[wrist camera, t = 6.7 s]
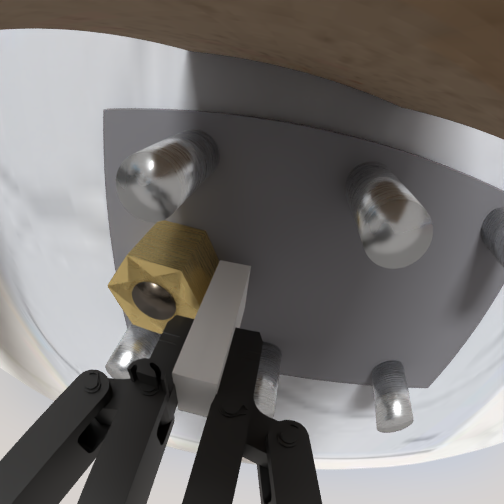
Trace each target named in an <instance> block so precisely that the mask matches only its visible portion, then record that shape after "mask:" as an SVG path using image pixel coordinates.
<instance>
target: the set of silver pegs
mask: <svg viewBox="0 0 504 504" xmlns="http://www.w3.org/2000/svg"><path fill="white" fill-rule="evenodd" d="M218 162H219V150H218V147H217V145H216V143H215V141H214V140H213V138H212V137H211V136H210V135H208V134H207V133H205V132H203V131H200V130H196V129H190V130H185V131H183V132H181V133H178V134H176V135H173V136H171V137H169V138H166V139H164V140H162V141H160V142H157V143H155V144H153V145H151V146H149V147H147V148H144V149H142V150H140V151H138V152H136V153H134V154H132V155H130V156H128V157H127V158H126V159H125V160H124V161H123V162H122V163H121V165H120V167H119V169H118V171H117V175H116V189H117V194H118V196H119V199H120V201H121V203H122V204H123V206H124V207H125V208H126V209H127V211H128V212H130V213H131V214H132V215H133V216H135V217H136V218H138V219H140V220H143V221H147V222H159V221H163V220H165V219H167V218H168V217H170V216H171V215H172V214H173V213H174V212H175V211H176V210H177V209H178V208H179V207H180V206H181V205H182V204H183V202H184V201H185V200H186V199H187V198H188V197H189V196H190V195H191V194H192V193H193V192H194V191H195V190H196V189H197V188H198V187H199V186H200V185H201V184H202V183H203V182H204V181H205V180H206V179H207V178H208V177H209V176H210V175H211V174H212V173H213V172H214V170H215V169H216V167H217V165H218ZM345 194H346V197H347V200H348V203H349V206H350V208H351V211H352V214H353V217H354V220H355V223H356V226H357V229H358V232H359V235H360V238H361V241H362V244H363V247H364V250H365V252H366V254H367V256H368V257H369V258H370V259H371V261H373V262H374V263H375V264H377V265H379V266H381V267H384V268H390V269H397V268H402V267H406V266H408V265H410V264H412V263H414V262H416V261H417V260H418V259H420V258H421V257H422V256H423V254H424V253H425V252H426V250H427V249H428V247H429V245H430V243H431V240H432V236H433V224H432V220H431V217H430V215H429V214H428V212H427V211H426V210H425V208H424V207H423V206H422V205H421V204H420V203H419V201H418V200H417V199H416V198H415V197H414V196H413V195H412V194H411V192H410V191H409V190H408V189H407V188H406V187H405V186H404V185H403V184H402V183H401V182H400V180H399V179H398V178H397V177H396V176H395V175H394V174H393V173H392V172H391V171H390V170H389V169H388V168H387V167H385V166H384V165H382V164H380V163H376V162H366V163H362V164H360V165H358V166H356V167H355V168H354V169H353V170H352V171H351V172H350V173H349V175H348V177H347V179H346V182H345ZM481 240H482V242H483V244H484V245H485V246H486V247H487V248H488V249H489V251H490V252H491V253H492V254H493V255H494V257H495V258H496V259H497V260H498V262H499V263H500V264H501V265H502V267H503V268H504V208H496V209H494V210H492V211H491V212H490V213H489V214H488V215H487V216H486V218H485V219H484V221H483V224H482V227H481ZM160 336H161V334H159V333H156V332H153V331H150V330H147V329H144V328H142V327H139V326H136V325H133V324H132V323H131V324H130V326H129V327H128V329H127V331H126V332H125V334H124V336H123V337H122V339H121V340H120V342H119V344H118V345H117V347H116V349H115V350H114V352H113V354H112V355H111V357H110V359H109V360H108V362H107V364H106V366H105V367H106V370H107V372H108V373H109V374H110V376H111V377H113V378H114V379H130V375H129V373H128V370H127V368H128V366H129V365H130V364H131V363H132V362H134V361H136V360H137V359H142V358H148V359H149V358H150V356H151V354H152V352H153V350H154V348H155V346H156V344H157V342H158V341H159V338H160ZM281 358H282V353H281V350H280V349H279V348H278V347H277V346H275V345H273V344H271V343H268V342H263V346H262V352H261V357H260V363H259V369H258V374H257V380H256V385H255V390H254V402H255V405H256V406H257V408H258V409H259V410H260V411H261V412H262V413H263V414H265V415H266V416H268V417H270V418H272V417H273V416H274V411H275V404H276V397H277V389H278V382H279V374H280V366H281ZM372 382H373V391H374V401H375V411H376V423H377V430H378V431H379V432H383V433H390V432H396V431H399V430H402V429H404V428H406V427H408V426H409V425H411V424H412V423H413V414H412V408H411V402H410V397H409V391H408V386H407V381H406V376H405V371H404V367H403V364H402V363H401V362H399V361H395V360H391V361H386V362H383V363H380V364H378V365H377V366H376V367H375V368H374V369H373V370H372Z"/></svg>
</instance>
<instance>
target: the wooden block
mask: <svg viewBox="0 0 504 504" xmlns="http://www.w3.org/2000/svg"><path fill="white" fill-rule="evenodd" d="M25 28H42V29H67V30H79V31H90V32H98V33H106V34H113V35H119V36H126V37H131V38H137V39H142V40H147V41H151V42H156V43H160V44H165V45H169V46H173V47H177V48H181V49H185V50H188V51H192V52H201V53H210V54H217V55H224V56H231V57H237V58H243V59H248V60H254V61H259V62H263V63H268V64H273V65H277V66H281V67H285V68H289V69H293V70H297V71H301V72H305V73H308V74H312V75H315V76H319V77H322V78H325V79H328V80H332V81H335V82H338V83H341V84H344V85H346V86H349V87H352V88H355V89H358V90H360V91H363V92H366V93H368V94H371V95H373V96H376V97H378V98H381V99H383V100H386V101H388V102H390V103H393V104H395V105H397V106H400V107H402V108H406V109H410V110H415V111H419V112H423V113H426V114H430V115H434V116H437V117H441V118H444V119H448V120H451V121H454V122H457V123H460V124H463V125H466V126H469V127H472V128H475V129H478V130H481V131H484V132H486V133H489V134H491V135H494V136H497V137H499V138H502V139H504V0H0V30H2V29H25Z"/></svg>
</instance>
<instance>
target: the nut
mask: <svg viewBox="0 0 504 504" xmlns="http://www.w3.org/2000/svg"><path fill="white" fill-rule="evenodd" d="M218 264H219V259H218V257H217V255H216V253H215V250H214V248H213V246H212V243H211V241H210V239H209V236H208V234H207V232H206V231H205V230H201V229H197V228H193V227H189V226H185V225H181V224H177V223H173V222H169V221H165V220H163V221H159V222H157V223H156V224H155V225H154V226H153V227H152V228H151V229H150V230H149V231H148V232H147V233H146V235H145V236H144V237H143V238H142V239H141V240H140V241H139V242H138V243H137V244H136V246H135V247H134V248H133V249H132V250H131V251H130V252H129V253H128V254H127V256H126V257H125V259H124V260H123V262H122V263H121V265H120V266H119V268H118V270H117V271H116V273H115V274H114V276H113V278H112V279H111V281H110V282H109V284H108V288H109V289H110V291H111V292H112V294H113V295H114V297H115V299H116V300H117V302H118V303H119V305H120V306H121V308H122V309H123V311H124V312H125V314H126V315H127V317H128V318H129V320H130V321H131V322H132V324H133V325H136V326H139V327H142V328H144V329H147V330H150V331H153V332H156V333H159V334H162V333H163V330H164V328H165V326H166V324H167V322H168V321H170V320H171V319H172V318H173V317H174V316H176V315H180V316H184V317H188V318H192V319H195V317H196V314H197V312H198V310H199V307H200V305H201V303H202V300H203V298H204V296H205V294H206V291H207V289H208V287H209V284H210V282H211V280H212V278H213V275H214V273H215V271H216V268H217V266H218Z"/></svg>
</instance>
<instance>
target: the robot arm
mask: <svg viewBox="0 0 504 504" xmlns="http://www.w3.org/2000/svg"><path fill="white" fill-rule="evenodd" d="M250 269H251V266H248V265H243V264H237V263H232V262H227V261H222V260H220V262H219V264H218V266H217V268H216V271H215V273H214V275H213V278H212V280H211V282H210V284H209V287H208V289H207V291H206V294H205V296H204V298H203V300H202V303H201V305H200V307H199V310H198V312H197V314H196V317H195V319H192V318H188V317H184V316H180V315H176V316H174V317H173V318H172V319H171V320H170V321H168V322H167V324H166V326H165V328H164V330H163V333H162V334H161V336H160V338H159V341H158V342H157V344H156V346H155V348H154V350H153V352H152V354H151V356H150V358H149V359H148V358H142V359H137V360H136V361H134V362H132V363H131V364H130V365H129V366H128V368H127V370H128V373H129V375H130V379H111V378H107V376H106V375H105V374H104V373H103V372H101V371H98V370H88V371H85V372H83V373H82V374H80V375H79V376H78V377H77V378H76V379H75V380H74V381H73V382H72V384H71V385H70V386H69V387H68V388H67V389H66V390H65V391H64V392H63V393H62V394H61V395H60V396H59V397H58V398H57V399H56V400H55V401H54V403H53V404H52V405H51V406H50V407H49V408H48V409H47V410H46V411H45V412H44V413H43V414H42V415H41V416H40V418H39V419H38V420H37V421H36V422H35V423H34V424H33V425H32V426H31V427H30V428H29V429H28V431H27V432H26V433H25V434H24V435H23V436H22V437H21V438H20V439H19V441H18V442H17V443H16V444H15V445H14V446H13V447H12V449H11V450H10V451H9V452H8V453H7V454H6V455H5V456H4V458H3V459H2V460H1V461H0V504H59V503H60V501H61V500H62V499H63V498H64V496H65V495H66V494H67V493H68V492H69V490H70V489H71V488H72V487H73V485H74V484H75V483H76V482H77V481H78V479H79V478H80V477H81V476H82V474H83V473H84V472H85V471H86V469H87V468H88V467H89V466H90V464H91V463H92V462H93V461H94V459H95V458H96V460H95V462H94V464H93V467H92V469H91V472H90V474H89V476H88V479H87V481H86V484H85V486H84V488H83V491H82V493H81V496H80V499H79V501H78V503H77V504H146V503H147V500H148V497H149V494H150V491H151V488H152V485H153V482H154V479H155V476H156V474H157V471H158V468H159V465H160V462H161V459H162V456H163V453H164V450H165V447H166V444H167V441H168V438H169V436H170V433H171V430H172V427H173V424H174V418H175V417H174V413H175V410H176V407H177V405H178V410H181V411H185V412H189V413H193V414H196V415H200V416H204V417H207V420H206V423H205V427H204V430H203V434H202V437H201V440H200V444H199V447H198V451H197V454H196V458H195V461H194V465H193V468H192V472H191V475H190V478H189V482H188V485H187V489H186V492H185V496H184V499H183V502H182V504H232V501H233V497H234V493H235V488H236V484H237V478H238V474H239V469H240V465H241V460H242V457H244V458H246V459H248V460H250V461H252V462H254V463H256V464H257V469H258V479H259V488H260V497H261V504H322V501H321V495H320V490H319V485H318V480H317V475H316V469H315V464H314V459H313V454H312V449H311V444H310V440H309V435H308V433H307V430H306V429H305V428H304V427H303V426H302V425H301V424H300V423H298V422H295V421H292V420H283V421H277V420H275V419H272V418H270V417H268V416H266V415H265V414H263V413H262V412H261V411H260V410H259V409H258V408H257V406H256V405H255V402H254V390H255V385H256V380H257V374H258V369H259V363H260V357H261V352H262V346H263V341H262V338H261V335H260V332H256V331H251V330H246V329H241V328H240V325H241V321H242V317H243V313H244V309H245V303H246V296H247V290H248V283H249V276H250Z"/></svg>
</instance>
